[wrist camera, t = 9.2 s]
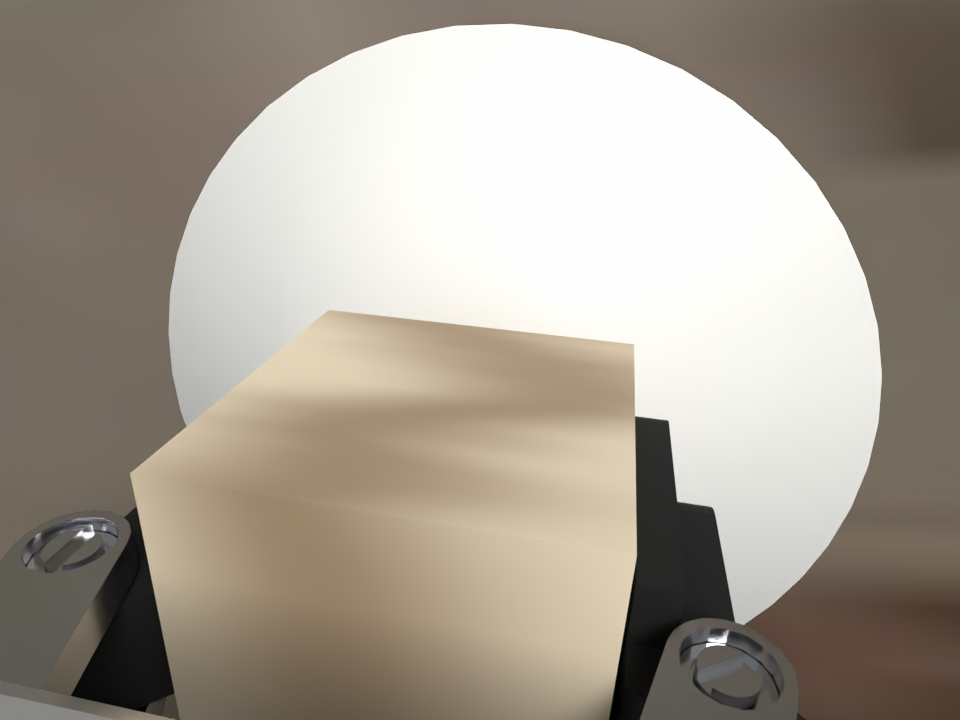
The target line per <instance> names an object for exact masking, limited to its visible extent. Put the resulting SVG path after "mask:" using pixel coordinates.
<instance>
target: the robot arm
mask: <svg viewBox="0 0 960 720" xmlns="http://www.w3.org/2000/svg"><path fill="white" fill-rule="evenodd" d="M635 451H636V526H637V558H636V564H635V570H634V576H633V582H632V587H631V593H630V599H629V605H628V611H627V617H626V622H625V628H624V634H623V640H622V646H621V652H620V658H619V663H618V669H617V675H616V681H615V687H614V693H613V698H612V704H611V710H610V716H609V720H805V719H804V718H803V717H802V716H801V715H799V714H798V713H797V710H798V700H799V687H798V678H797V675H796V673H795V671H794V669H793V667H792V665H791V663H790V661H789V660H788V659H787V657H786V656H785V655H784V654H783V653H782V652H781V651H780V649H779V648H778V647H777V646H776V645H775V644H773V643H772V642H771V641H769V640H768V639H767V638H765V637H764V636H763V635H761V634H760V633H758V632H756V631H754V630H752V629H750V628H748V627H746V626H744V625H742V624H739V623H735V618H734V613H733V608H732V602H731V597H730V592H729V586H728V581H727V575H726V570H725V565H724V559H723V554H722V549H721V543H720V538H719V532H718V527H717V522H716V516H715V512H714V509H713V508H712V507H709V506H702V505H696V504H689V503H682V502H677V495H676V485H675V476H674V466H673V457H672V447H671V438H670V428H669V421H668V420H660V419H653V418H645V417H637V416H635ZM135 501H136V499H135ZM136 506H137V504H136ZM171 694H175V693H174V688H173V683H172V678H171V673H170V668H169V663H168V658H167V653H166V648H165V643H164V638H163V633H162V628H161V623H160V618H159V613H158V608H157V604H156V599H155V594H154V589H153V584H152V579H151V574H150V569H149V564H148V559H147V554H146V549H145V544H144V539H143V534H142V529H141V524H140V519H139V514H138V509H137V507H135V508H134V509H133V510H132V511H131V512H130V513H129V514H128V515H127V516H125V517H123V516H121V515H118V514H116V513H113V512H110V511H98V510H92V511H82V512H75V513H71V514H67V515H63V516H59V517H57V518H54V519H52V520H50V521H47V522H45V523H42V524H40V525H39V526H37V527H36V528H34V529H32V530H31V531H29V532H27V533H26V534H25V535H24V536H23V537H21V538H20V539H19V540H18V541H17V542H16V543H15V544H14V545H13V546H12V547H11V549H10V550H9V551H8V552H7V554H6V555H5V556H4V557H3V558H2V560H1V561H0V720H175V719H171V718H166V717H162V714H163V711H164V706H165V701H166V697H167V696H169V695H171Z"/></svg>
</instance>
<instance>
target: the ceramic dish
mask: <svg viewBox="0 0 960 720" xmlns="http://www.w3.org/2000/svg"><path fill="white" fill-rule="evenodd" d="M328 310H334V311H343V312H352V313H361V314H370V315H378V316H387V317H396V318H405V319H414V320H423V321H432V322H441V323H449V324H458V325H467V326H476V327H485V328H494V329H503V330H512V331H521V332H529V333H538V334H547V335H556V336H565V337H574V338H583V339H592V340H601V341H609V342H618V343H627V344H634V376H635V416H637V417H645V418H653V419H660V420H668V421H669V428H670V438H671V447H672V457H673V466H674V476H675V485H676V495H677V502H682V503H689V504H696V505H702V506H709V507H712V508H713V509H714V512H715V516H716V522H717V527H718V532H719V538H720V543H721V549H722V554H723V559H724V565H725V570H726V575H727V581H728V586H729V592H730V597H731V602H732V608H733V613H734V618H735V623H739V624H742V625H744V624H745V623H747V622H748V621H750V620H751V619H753V618H754V617H755V616H757V615H758V614H760V613H761V612H762V611H764V610H765V609H767V608H768V607H770V606H771V605H772V604H773V603H774V602H776V601H777V600H778V599H779V598H780V597H781V596H782V595H783V594H784V593H785V592H786V591H788V590H789V589H790V588H791V587H792V586H793V585H794V584H795V583H796V582H797V581H798V580H799V579H801V578H802V577H803V575H804V574H805V573H806V572H807V571H808V569H809V568H810V567H811V566H812V564H813V563H814V562H815V561H816V560H817V558H818V557H819V556H820V555H821V554H822V552H823V551H824V550H825V549H826V547H827V546H828V545H829V543H830V542H831V540H832V538H833V537H834V535H835V533H836V532H837V530H838V529H839V527H840V525H841V524H842V522H843V520H844V519H845V517H846V515H847V514H848V512H849V510H850V509H851V506H852V504H853V502H854V499H855V497H856V494H857V492H858V490H859V487H860V485H861V482H862V480H863V477H864V475H865V473H866V470H867V468H868V464H869V460H870V456H871V451H872V447H873V443H874V439H875V435H876V431H877V426H878V421H879V408H880V394H881V381H882V371H881V359H880V348H879V336H878V326H877V322H876V318H875V314H874V310H873V306H872V302H871V298H870V294H869V290H868V286H867V282H866V278H865V275H864V273H863V271H862V268H861V266H860V264H859V261H858V259H857V257H856V255H855V252H854V250H853V248H852V245H851V243H850V241H849V238H848V236H847V234H846V231H845V229H844V227H843V225H842V224H841V222H840V221H839V219H838V218H837V216H836V214H835V213H834V211H833V210H832V208H831V206H830V205H829V203H828V202H827V200H826V199H825V197H824V195H823V194H822V192H821V191H820V189H819V187H818V186H817V184H816V183H815V181H814V180H813V179H812V178H811V177H810V175H809V174H808V173H807V172H806V171H805V170H804V169H803V167H802V166H801V165H800V164H799V163H798V162H797V161H796V159H795V158H794V157H793V156H792V155H791V154H790V153H789V151H788V150H787V149H786V148H785V147H784V146H783V145H782V143H781V142H780V141H779V140H778V139H777V138H776V137H775V136H774V135H773V134H771V133H770V132H769V131H768V130H767V129H766V128H764V127H763V126H762V125H761V124H760V123H758V122H757V121H756V120H755V119H754V118H753V117H751V116H750V115H749V114H748V113H747V112H745V111H744V110H743V109H742V108H741V107H740V106H738V105H737V104H736V103H735V102H734V101H732V100H731V99H729V98H728V97H726V96H724V95H723V94H721V93H720V92H718V91H716V90H715V89H713V88H711V87H710V86H708V85H707V84H705V83H703V82H702V81H700V80H698V79H697V78H695V77H694V76H692V75H690V74H689V73H687V72H686V71H684V70H682V69H680V68H678V67H676V66H673V65H671V64H669V63H666V62H664V61H662V60H659V59H657V58H655V57H652V56H650V55H648V54H645V53H643V52H641V51H638V50H636V49H634V48H631V47H629V46H626V45H623V44H619V43H615V42H611V41H608V40H604V39H600V38H596V37H592V36H589V35H585V34H581V33H577V32H574V31H570V30H561V29H552V28H543V27H534V26H526V25H517V24H496V25H468V26H452V27H447V28H442V29H436V30H431V31H426V32H420V33H415V34H409V35H404V36H400V37H397V38H394V39H391V40H388V41H386V42H383V43H380V44H377V45H374V46H371V47H368V48H366V49H363V50H360V51H357V52H354V53H351V54H349V55H348V56H346V57H344V58H342V59H340V60H338V61H336V62H334V63H333V64H331V65H329V66H327V67H325V68H323V69H321V70H319V71H317V72H316V73H314V74H312V75H310V76H308V77H306V78H305V79H304V80H302V81H301V82H300V83H298V84H297V85H296V86H294V87H293V88H292V89H290V90H289V91H288V92H286V93H285V94H284V95H282V96H281V97H280V98H278V99H277V100H276V101H274V102H273V103H272V104H270V105H269V106H268V107H267V108H266V109H265V110H264V111H263V112H262V113H261V114H260V115H259V116H258V117H257V118H256V119H255V120H254V121H253V122H252V123H251V124H250V125H249V126H248V127H247V128H246V129H245V130H244V131H243V132H242V133H241V135H240V136H239V137H238V138H237V139H236V140H235V141H234V142H233V144H232V145H231V147H230V148H229V150H228V151H227V152H226V154H225V155H224V157H223V158H222V159H221V161H220V162H219V164H218V165H217V166H216V168H215V169H214V171H213V172H212V173H211V175H210V176H209V178H208V180H207V182H206V184H205V186H204V188H203V190H202V192H201V194H200V196H199V198H198V200H197V202H196V204H195V206H194V208H193V210H192V212H191V214H190V217H189V220H188V223H187V226H186V229H185V232H184V235H183V238H182V241H181V244H180V247H179V250H178V253H177V258H176V264H175V270H174V275H173V281H172V287H171V292H170V312H169V343H170V354H171V364H172V374H173V378H174V383H175V387H176V392H177V396H178V401H179V405H180V410H181V413H182V416H183V419H184V421H185V424H186V427H187V426H188V425H190V424H191V423H192V422H193V421H194V420H196V419H197V418H198V417H199V416H200V415H202V414H203V413H204V412H205V411H207V410H208V409H209V408H210V407H211V406H213V405H214V404H215V403H216V402H218V401H219V400H220V399H221V398H222V397H224V396H225V395H226V394H227V393H228V392H230V391H231V390H232V389H233V388H235V387H236V386H237V385H238V384H239V383H241V382H242V381H243V380H244V379H245V378H247V377H248V376H249V375H250V374H252V373H253V372H254V371H255V370H256V369H258V368H259V367H260V366H261V365H262V364H264V363H265V362H266V361H267V360H269V359H270V358H271V357H272V356H273V355H275V354H276V353H277V352H278V351H279V350H281V349H282V348H283V347H284V346H286V345H287V344H288V343H289V342H290V341H292V340H293V339H294V338H295V337H296V336H298V335H299V334H300V333H301V332H303V331H304V330H305V329H306V328H307V327H309V326H310V325H311V324H312V323H314V322H315V321H316V320H317V319H318V318H320V317H321V316H322V315H323V314H324V313H326V312H327V311H328Z"/></svg>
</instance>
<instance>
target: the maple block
mask: <svg viewBox="0 0 960 720" xmlns="http://www.w3.org/2000/svg"><path fill="white" fill-rule="evenodd" d="M130 475H131V480H132V485H133V490H134V495H135V499H136V504H137V509H138V514H139V519H140V524H141V529H142V534H143V539H144V544H145V549H146V554H147V559H148V564H149V569H150V574H151V579H152V584H153V589H154V594H155V599H156V604H157V608H158V613H159V618H160V623H161V628H162V633H163V638H164V643H165V648H166V653H167V658H168V663H169V668H170V673H171V678H172V683H173V688H174V693H175V698H176V703H177V708H178V713H179V717H180V720H609V716H610V710H611V704H612V698H613V693H614V687H615V681H616V675H617V669H618V663H619V658H620V652H621V646H622V640H623V634H624V628H625V622H626V617H627V611H628V605H629V599H630V593H631V587H632V582H633V576H634V570H635V564H636V558H637V526H636V451H635V376H634V344H627V343H618V342H609V341H601V340H592V339H583V338H574V337H565V336H556V335H547V334H538V333H529V332H521V331H512V330H503V329H494V328H485V327H476V326H467V325H458V324H449V323H441V322H432V321H423V320H414V319H405V318H396V317H387V316H378V315H370V314H361V313H352V312H343V311H334V310H328V311H327V312H326V313H324V314H323V315H322V316H321V317H320V318H318V319H317V320H316V321H315V322H314V323H312V324H311V325H310V326H309V327H307V328H306V329H305V330H304V331H303V332H301V333H300V334H299V335H298V336H296V337H295V338H294V339H293V340H292V341H290V342H289V343H288V344H287V345H286V346H284V347H283V348H282V349H281V350H279V351H278V352H277V353H276V354H275V355H273V356H272V357H271V358H270V359H269V360H267V361H266V362H265V363H264V364H262V365H261V366H260V367H259V368H258V369H256V370H255V371H254V372H253V373H252V374H250V375H249V376H248V377H247V378H245V379H244V380H243V381H242V382H241V383H239V384H238V385H237V386H236V387H235V388H233V389H232V390H231V391H230V392H228V393H227V394H226V395H225V396H224V397H222V398H221V399H220V400H219V401H218V402H216V403H215V404H214V405H213V406H211V407H210V408H209V409H208V410H207V411H205V412H204V413H203V414H202V415H200V416H199V417H198V418H197V419H196V420H194V421H193V422H192V423H191V424H190V425H188V426H187V427H186V428H185V429H183V430H182V431H181V432H180V433H179V434H177V435H176V436H175V437H174V438H173V439H171V440H170V441H169V442H168V443H166V444H165V445H164V446H163V447H162V448H160V449H159V450H158V451H157V452H156V453H154V454H153V455H152V456H151V457H149V458H148V459H147V460H146V461H145V462H143V463H142V464H141V465H140V466H139V467H137V468H136V469H135V470H134V471H132V472H131V473H130Z"/></svg>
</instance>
